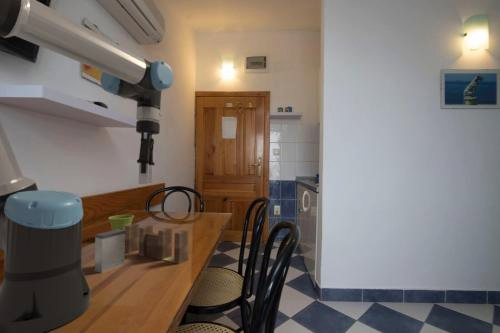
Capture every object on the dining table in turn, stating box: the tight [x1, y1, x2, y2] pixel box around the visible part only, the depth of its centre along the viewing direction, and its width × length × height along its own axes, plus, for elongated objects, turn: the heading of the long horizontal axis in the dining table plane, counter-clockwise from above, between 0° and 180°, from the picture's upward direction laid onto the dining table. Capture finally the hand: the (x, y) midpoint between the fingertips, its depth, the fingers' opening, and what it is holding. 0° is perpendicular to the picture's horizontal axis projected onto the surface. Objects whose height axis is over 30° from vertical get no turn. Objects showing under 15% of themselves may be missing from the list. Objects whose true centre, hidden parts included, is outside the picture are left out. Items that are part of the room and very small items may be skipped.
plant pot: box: [108, 214, 135, 231], centre depth 104 cm, size 9×9×9 cm
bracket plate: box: [94, 230, 126, 274], centre depth 72 cm, size 7×3×10 cm, turn 155°
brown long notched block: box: [125, 223, 189, 265], centre depth 82 cm, size 4×24×9 cm, turn 65°
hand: (145, 183), depth 86 cm, fingers open, 13 cm apart
